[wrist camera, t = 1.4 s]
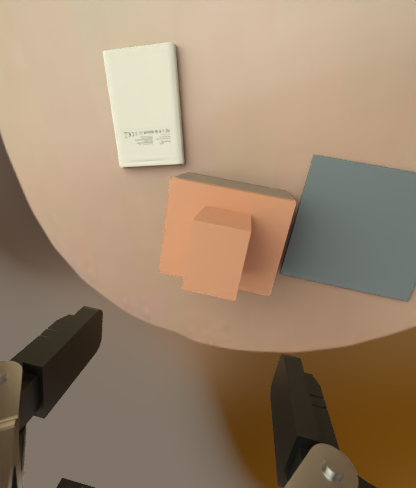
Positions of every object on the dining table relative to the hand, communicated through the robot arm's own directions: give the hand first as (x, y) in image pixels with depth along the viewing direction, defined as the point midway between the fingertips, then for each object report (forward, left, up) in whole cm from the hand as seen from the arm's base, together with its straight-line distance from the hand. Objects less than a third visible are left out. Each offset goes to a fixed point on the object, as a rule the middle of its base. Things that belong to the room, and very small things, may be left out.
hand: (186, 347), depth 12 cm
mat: (-2, +16, -24) cm, 29 cm away
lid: (0, 0, -18) cm, 18 cm away
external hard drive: (-11, -12, -25) cm, 30 cm away
